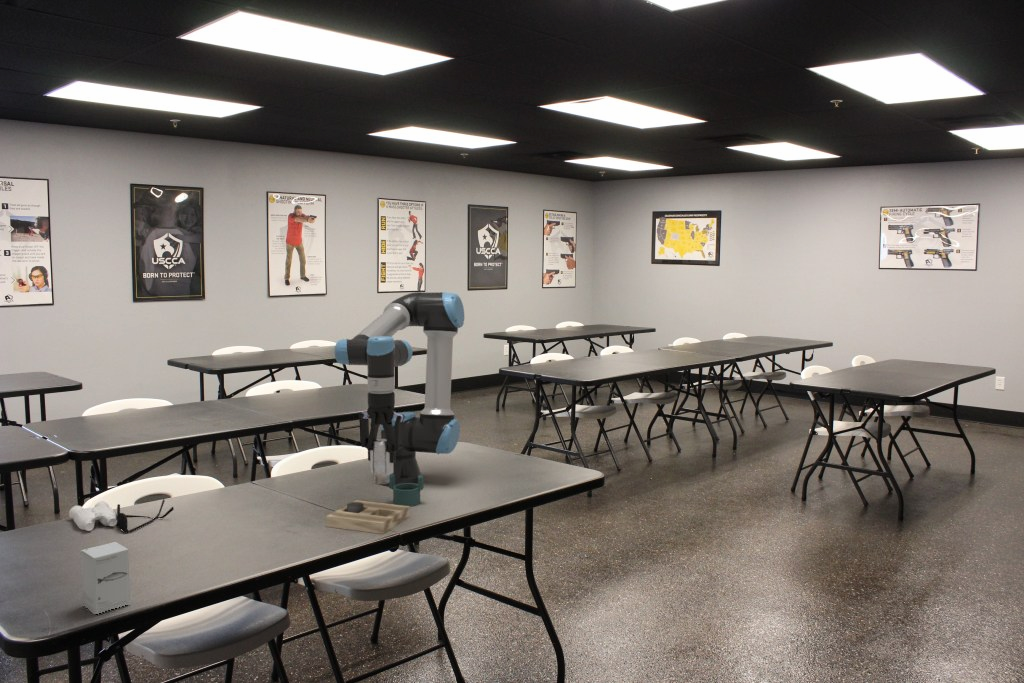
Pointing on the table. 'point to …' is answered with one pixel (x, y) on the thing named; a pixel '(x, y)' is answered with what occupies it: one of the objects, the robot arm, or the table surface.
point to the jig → (368, 516)
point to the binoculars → (93, 516)
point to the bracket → (406, 491)
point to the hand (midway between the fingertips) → (381, 472)
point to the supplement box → (105, 577)
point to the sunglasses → (123, 518)
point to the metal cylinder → (380, 461)
